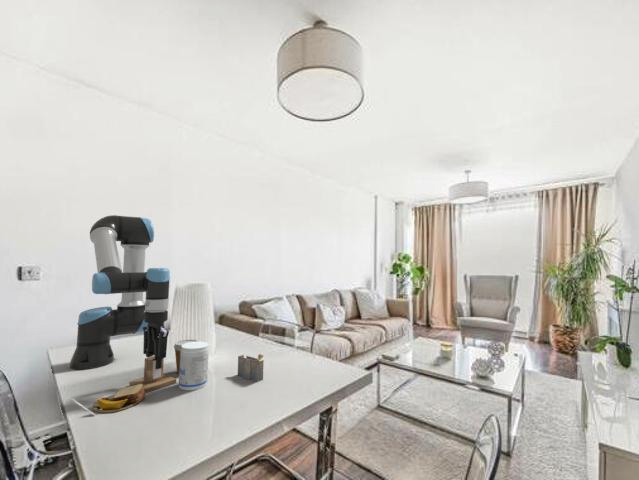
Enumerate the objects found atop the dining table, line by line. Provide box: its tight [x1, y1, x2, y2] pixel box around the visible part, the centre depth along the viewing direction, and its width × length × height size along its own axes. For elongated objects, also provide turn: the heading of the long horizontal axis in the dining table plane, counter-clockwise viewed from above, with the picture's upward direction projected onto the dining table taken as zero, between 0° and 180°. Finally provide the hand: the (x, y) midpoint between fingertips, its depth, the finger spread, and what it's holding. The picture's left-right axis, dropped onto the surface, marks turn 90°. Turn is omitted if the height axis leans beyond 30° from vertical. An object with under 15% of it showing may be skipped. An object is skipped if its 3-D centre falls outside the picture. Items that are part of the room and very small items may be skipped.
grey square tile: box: [127, 381, 179, 396], centre depth 111 cm, size 12×12×1 cm
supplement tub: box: [178, 341, 210, 391], centre depth 111 cm, size 10×10×15 cm
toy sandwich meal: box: [92, 384, 146, 414], centre depth 96 cm, size 12×14×5 cm
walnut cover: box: [128, 355, 177, 393], centre depth 111 cm, size 11×11×9 cm
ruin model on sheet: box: [237, 353, 265, 383], centre depth 120 cm, size 11×3×10 cm, turn 55°
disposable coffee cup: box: [173, 339, 199, 375], centre depth 124 cm, size 10×10×12 cm
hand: (153, 376), depth 111 cm, fingers closed on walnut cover, 3 cm apart
